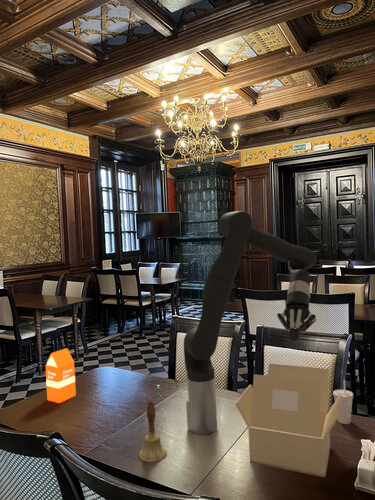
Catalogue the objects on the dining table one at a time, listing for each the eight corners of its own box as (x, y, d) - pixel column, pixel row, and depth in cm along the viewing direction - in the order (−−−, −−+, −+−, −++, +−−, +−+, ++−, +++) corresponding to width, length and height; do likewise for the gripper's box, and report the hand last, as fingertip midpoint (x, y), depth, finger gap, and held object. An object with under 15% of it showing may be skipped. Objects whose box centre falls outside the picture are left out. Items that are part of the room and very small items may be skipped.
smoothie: (356, 426, 124) (354, 383, 124) (335, 425, 126) (334, 383, 125) (352, 417, 131) (350, 377, 130) (332, 416, 132) (330, 376, 132)
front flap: (250, 426, 106) (250, 426, 106) (254, 374, 112) (253, 374, 111) (320, 437, 99) (319, 437, 98) (320, 381, 104) (320, 380, 103)
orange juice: (47, 399, 159) (44, 352, 159) (63, 392, 167) (61, 347, 167) (59, 403, 155) (57, 354, 155) (76, 395, 163) (73, 348, 163)
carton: (237, 459, 109) (233, 389, 108) (260, 419, 132) (257, 362, 132) (340, 480, 97) (337, 402, 97) (345, 432, 121) (342, 369, 120)
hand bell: (139, 448, 117) (136, 397, 117) (166, 446, 118) (163, 395, 118) (138, 464, 109) (135, 408, 109) (167, 461, 110) (164, 406, 109)
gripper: (277, 289, 133) (271, 333, 122) (317, 290, 127) (314, 335, 116) (281, 302, 138) (275, 345, 127) (319, 303, 132) (317, 348, 121)
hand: (294, 340), depth 121 cm, fingers closed
